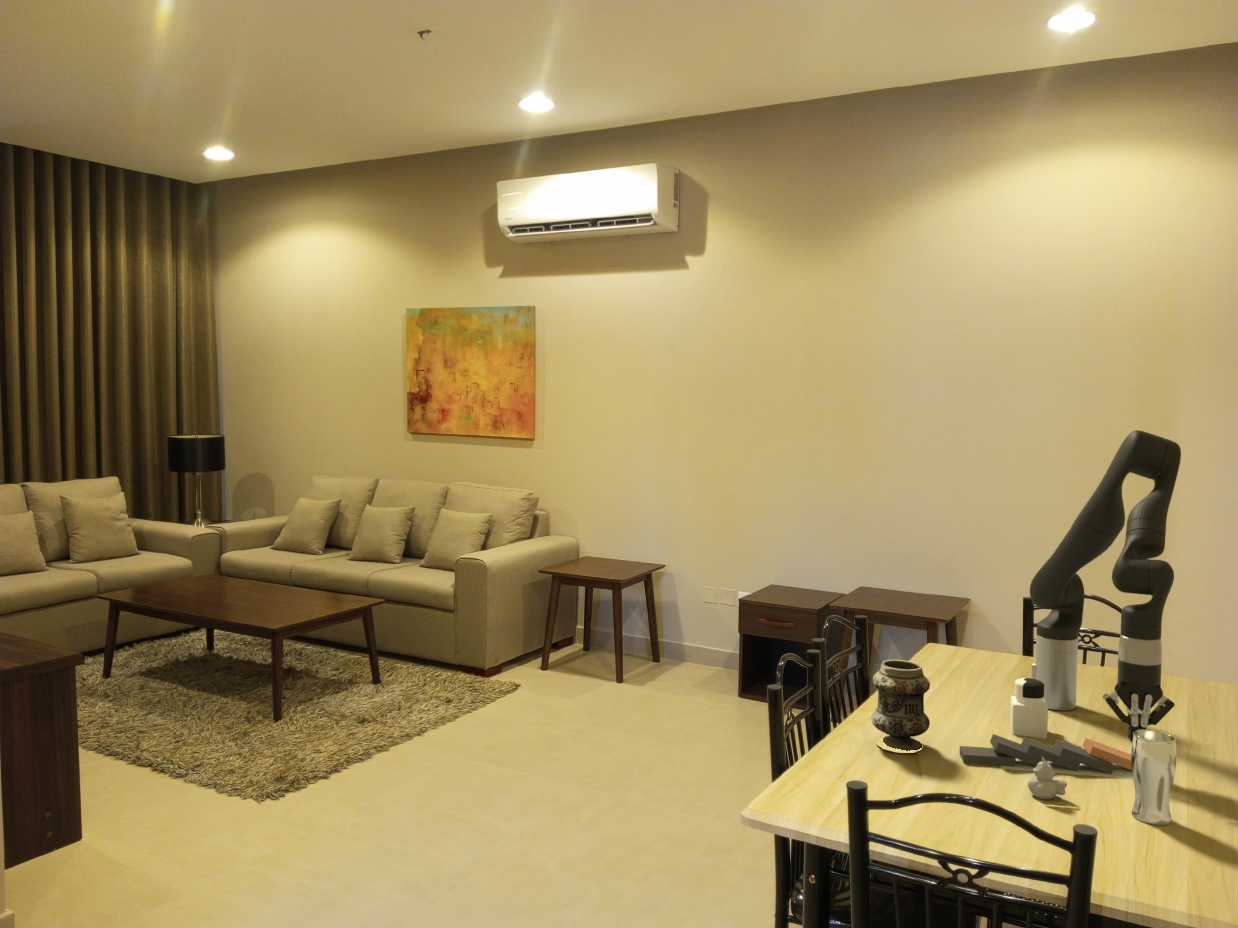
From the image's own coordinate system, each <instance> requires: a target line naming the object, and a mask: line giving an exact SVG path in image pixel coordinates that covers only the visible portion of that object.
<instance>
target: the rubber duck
mask: <svg viewBox="0 0 1238 928" xmlns="http://www.w3.org/2000/svg"><path fill="white" fill-rule="evenodd" d="M1032 772H1033V773H1034V776H1033V777H1032V778H1030V779H1029V780H1028V782H1027V788H1028V790H1029V792H1030V793H1031V794H1032V795H1033V796H1034V797H1036V798H1038V799H1041V800H1047V801H1048V800H1051V799H1053V798H1055V797H1056V796H1057V795H1058V796H1064V795H1065V794H1066V787H1067V786H1068V784H1067V781H1065V780H1063V779H1054V778H1055V775H1056V773H1054V770H1053V768H1052V767H1051V765H1050V764H1049V763H1048V762H1047V761H1046V760H1045V759H1044V758H1043V756H1042V761H1041V762H1039V763H1038V765H1037V767H1036V768H1034V769H1033V771H1032Z"/></svg>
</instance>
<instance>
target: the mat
mask: <svg viewBox="0 0 1238 928" xmlns="http://www.w3.org/2000/svg"><path fill="white" fill-rule="evenodd" d="M1047 762H1048V763H1049V764H1050V765H1051V767H1052V768H1053V770H1054V773H1055V774H1065V775H1066V774H1067V775H1079V776H1091V777H1092V776H1093V777H1103V778H1104V777H1105V778H1114V779H1115V778H1116V779H1127V780H1128V779H1129V780H1130V779H1132V780H1133V773H1132V770H1130V769H1127V768H1124V767H1122V766H1119V765H1116V764H1113V763H1112V764H1113V765H1114V769H1113V772H1112V774H1109V773H1106V772H1103V771H1101V770H1098V769H1095V768H1092V767H1089V766H1087V765H1084V764H1081V763H1080V765H1079V768H1078V770H1077V771H1074V770H1072V769H1069V768H1066V767H1063V766H1061V765H1058V764H1055V763H1052V762H1050V761H1047ZM999 767H1000V769H1003V770H1014V771H1027V772H1028V771H1029V772H1034V771H1033V769H1034V768H1036V767H1037V766H1035V765H1032V764H1030V763H1027V762H1024V761H1022V760H1019V759H1016V767H1011V766H999ZM1173 783H1177V781H1176V780H1175V779H1174V781H1173Z"/></svg>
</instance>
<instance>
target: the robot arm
mask: <svg viewBox="0 0 1238 928" xmlns="http://www.w3.org/2000/svg"><path fill="white" fill-rule="evenodd" d="M1181 459H1182V449H1181V446H1180V445H1179V444H1178V443H1177V442H1176V441H1174V440H1171V439H1168V438H1164V437H1162V436H1159V435H1156V434H1153V433H1150V432H1147V431H1144V430H1138V429H1136V430H1133V431H1131V432H1130V433H1129V434H1127V436H1126V437H1125V438H1124V439H1123V441H1122V443H1121V444H1120V445H1119V448H1118V449H1117V451H1116V453H1115V455H1114V457H1113V458H1112V461H1111V462H1110V464H1109V466H1108V468H1107V469H1106V471H1105V474H1104V475H1103V477H1102V479H1101V481H1100V483H1099V484H1098V486H1097V487H1096V488H1095V490H1094V491H1093V493H1092V495H1091V496H1090V497H1089V499H1088V501H1086V503H1085V505H1084V506H1083V507H1082V509H1081V511H1080V512H1079V514H1078V515H1077V516H1076V518H1075V519H1074V522H1073V523H1072V525H1071V527H1070V529H1069V530H1068V531H1067V533H1066V534H1065V536H1064V537H1063V539H1062V540H1061V541H1060V543H1059V544H1058V546H1057V548H1056V549H1055V551H1054V552H1053V553H1052V554H1051V556H1050V557H1049V558H1048V560H1046V561H1045V563H1044V564H1043V565H1042V566H1041V567H1040V569H1039V570H1038V571H1037V572H1036V573H1035V575H1034V576H1033V578H1032V580H1031V582H1030V586H1029V597H1030V600H1031V602H1032V604H1033V605H1035V606H1036V607H1037V608H1040V609H1041V610H1043V609H1044V610H1050V612H1049V614H1048V615H1047V616H1045V617H1044V618H1043V619H1041V620H1040V621H1038V622H1037V624H1036V636H1035V637H1036V640H1035V641H1036V642H1035V663H1032V664H1031V678H1032V679H1036V680H1039V681H1041V682H1042V683H1043V684H1044V699H1045V702H1046V705H1047V708H1048V710H1055V711H1071V710H1075V709H1076V708H1077V685H1078V683H1077V682H1078V681H1077V679H1078V656H1079V655H1078V653H1079V652H1078V651H1079V650H1078V649H1079V645H1078V644H1079V632H1080V629H1081V628H1082V625H1083V624H1082V623H1083V618H1084V617H1083V615H1084V603H1085V586H1084V582H1083V580H1082V578H1081V576H1080V575H1079V574H1078V573H1077V572H1079V571H1080V570H1081V569H1082V568H1084V567H1085V566H1086V565H1088V564H1089V563H1091V562H1092V561H1095V559H1098V557H1099V556H1101V555H1103V553H1105V552H1106V551H1107V550H1108V549H1109V548H1110V547H1111V546H1112V545H1113V543H1114V542H1115V541H1116V539H1117V538H1118V536H1119V534H1120V533H1121V532H1122V531H1123V529H1124V526H1125V523H1126V529H1125V539H1124V540H1125V542H1124V545H1123V548H1122V550H1121V552H1120V554H1119V557H1117V559H1116V562H1115V563H1114V566H1113V568H1112V572H1111V581H1112V584H1113V587H1115V588H1116V589H1117V590H1118V591H1119V592H1121V593H1124V594H1134V595H1146V596H1151V599H1150V600H1148V601H1147V602H1144V603H1138V604H1137V603H1136V604H1129V605H1126V606H1124V607H1123V608H1122V609H1121V615H1120V635H1119V636H1120V637H1119V643H1118V650H1117V656H1118V657H1117V659H1118V660H1117V683H1116V685H1115V686H1114V690H1113V691H1112V692H1110V693H1108V694H1107V693H1105V694H1103V695H1102V699H1103V700H1104V701H1105V703H1106V704H1107V705H1108V706H1109V707H1110V709H1111V710H1112V711H1113V713H1114V714H1115V715H1116V717H1118V719H1119V720H1120V721H1121V722H1122V723H1123V724H1128V725H1127V738H1128V740H1129V742H1131V743H1132V741H1133V732H1134V731H1136V730H1141V729H1147V727H1148V726H1156V725H1157V724H1159V723H1160V721H1161V720H1162V719H1163V718H1164V717H1165V716H1166V715H1167V714H1168V713H1169V712H1170V711H1171V710H1172V709H1173V708H1174V707H1175V705H1176V704H1175V702H1173V700H1172V699H1170V698H1169V697H1166V696H1165V695H1164V691H1163V689H1162V687H1161V685H1162V661H1163V660H1162V659H1163V647H1162V646H1163V645H1162V622H1163V613H1164V609H1165V605H1166V602H1167V599H1168V598H1169V594H1170V592H1171V589H1172V586H1173V583H1174V581H1175V572H1174V569H1173V567H1172V566H1171V564H1169V562H1167V561H1165V560H1163V559H1154V558H1157V557H1159V556H1161V555H1162V554H1163V553H1164V550H1165V548H1166V534H1167V532H1166V531H1167V520H1168V519H1167V518H1168V512H1169V507H1170V504H1171V501H1172V498H1173V494H1174V489H1175V485H1176V481H1177V478H1178V475H1179V474H1178V473H1179V469H1180V464H1181ZM1128 474H1134V475H1137V476H1140V477H1142V478H1146V479H1149V480H1153V483H1154V486H1153V489H1152V490H1151V491H1150V492H1149V493H1148V494H1147V495H1146V496H1145V497H1144V498H1143V499H1141V500H1140V501H1139V502H1137V503H1136V504H1135V505H1134V506H1133V507H1132V509H1131V510H1130V512H1129V514H1128V516H1127V521H1126V513H1125V505H1124V499H1123V483H1124V482H1125V479H1126V478H1127V476H1128ZM1118 698H1119V699H1120V701H1121V702H1122V703H1123V705H1124V706H1125V707H1126V708H1125V710H1126V712H1127V714H1125V713H1124V712H1123V711H1122V709H1121V708H1120V707H1119V705H1118V704H1119V699H1118ZM1156 704H1158V705H1157V706H1156V707H1155V705H1156ZM1153 707H1155V708H1154V709H1153V710H1152V711H1151V709H1152V708H1153Z"/></svg>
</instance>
